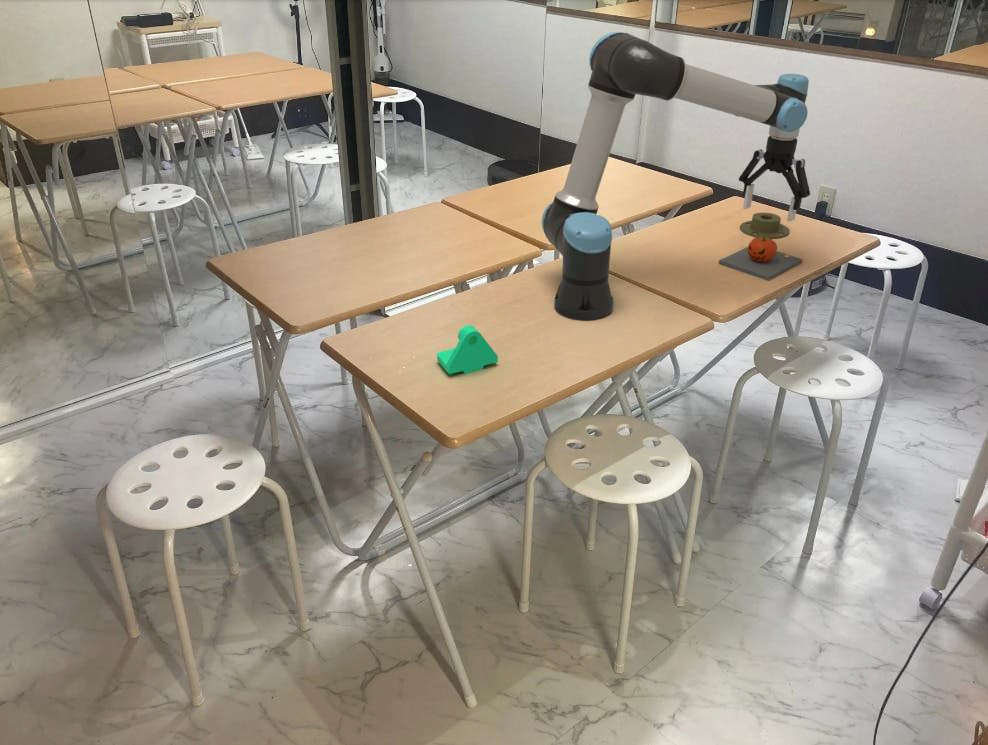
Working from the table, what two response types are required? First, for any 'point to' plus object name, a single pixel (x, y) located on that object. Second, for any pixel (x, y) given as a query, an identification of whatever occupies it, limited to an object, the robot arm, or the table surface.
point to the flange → (765, 226)
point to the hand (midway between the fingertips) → (768, 214)
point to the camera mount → (467, 353)
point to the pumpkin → (762, 249)
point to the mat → (760, 264)
